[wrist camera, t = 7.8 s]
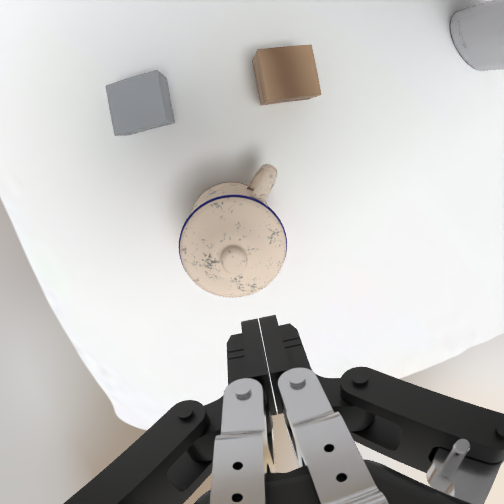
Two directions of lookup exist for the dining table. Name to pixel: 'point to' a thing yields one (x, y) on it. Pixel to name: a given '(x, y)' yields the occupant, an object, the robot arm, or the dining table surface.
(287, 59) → the walnut block
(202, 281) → the teacup with lid
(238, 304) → the dining table surface
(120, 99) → the slate-grey block
